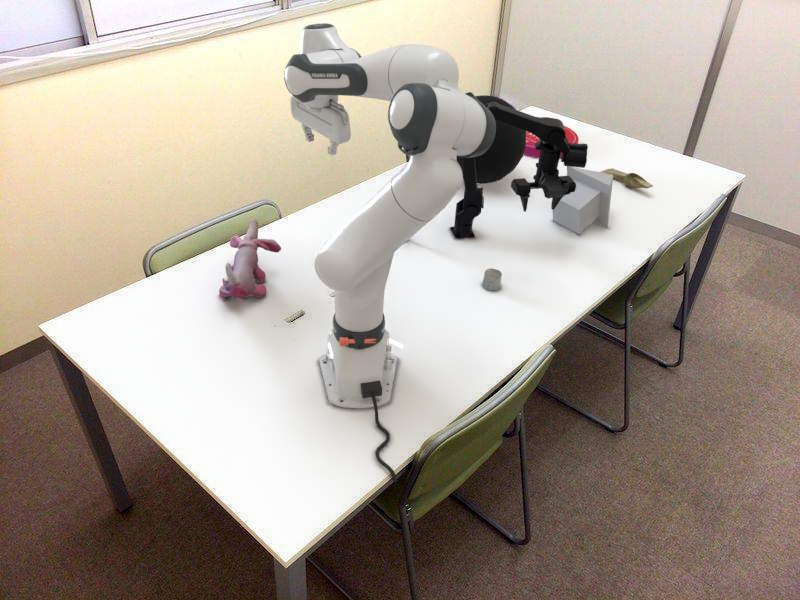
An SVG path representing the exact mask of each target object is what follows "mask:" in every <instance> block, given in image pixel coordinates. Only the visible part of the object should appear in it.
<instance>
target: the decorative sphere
mask: <svg viewBox="0 0 800 600" xmlns="http://www.w3.org/2000/svg"><path fill="white" fill-rule="evenodd" d="M475 97H476V98H477V99H478V100H479V101H480V102H481V103H482V104H483V105H486V104H488V103H490V102H497V103H499V104H501V105H503V106H506V107H509V108H512V109H515V110H517V109H516V108H515V107H514V106H513V105H512V104H511V103H509V102H507V101H506V100H505V99H503V98H501V97H498V96H494V95H486V94H485V95H482V94H481V95H475ZM495 122H496V133H495V138H494V140H493V143H492V145H491V146H490V148H489V149H488V150H487V151H486V152H485V153H484V154H482V155H480V156H477V157H475V166H476V179H477V185H486V184H491V183H496V182H499V181H500V180H503V179H504V178H505V177H507V176H509V174H511V173H512V172H514V171H515V169H516V168H517V166H518V165H519V163H520V162H521V160H522V159H523V157H524V155H523V154H524V151H525V148H526V131H524V130H521V129H519V128H516V127H513V126H510V125H507V124H504V123H501V122H499V121H496V120H495ZM457 162H458V163H459V165H460V167H461V170H462V173H463V163H462V157H458V156H457ZM463 180H464V174H463Z"/></svg>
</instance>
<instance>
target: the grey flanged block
mask: <svg viewBox="0 0 800 600" xmlns="http://www.w3.org/2000/svg"><path fill="white" fill-rule="evenodd" d="M601 172H602V171H601ZM601 172H600V171H596V170H591V169H585V168H580V167H570V166H566V176H570V177H571V179H572V180H573V181H574V182H575V183H576V190H575V192H571V193H570V194H567V195H565V196H563V197H562V199H561V200H560V201H559V203H558V204H557V206H556V207H555V209H554V210H552V221H554V222H555V223H557V224H559V225H561V226H563V227H565V228H567V230H570V231H572V232H573V233H575V234H577V235H581V234H582V233H583V232H584V231H585V230H586V229H587V228H588V227H589V226H590V225H591V224H593V222H595V223H598V224H599V225H602V226H603V227H606V228H609V219H610V210H611V199H612V193H613V192H612V191H613V182H614V181H613V180H614V178H613V175H611V174H606V173H601Z"/></svg>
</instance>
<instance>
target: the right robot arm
mask: <svg viewBox="0 0 800 600" xmlns="http://www.w3.org/2000/svg"><path fill="white" fill-rule="evenodd" d="M485 106H486V107H487V108H488V109H489V110H490V111H491V113H492V114H493V116H494V118H495V120H496V121H499V122H501V123H504V124H507V125H510V126H513V127H516V128H519V129H521V130H524V131H527V132H530V133H532V134H534V135H535V136H537V137H538V138H539V139H540V141H538V142H536V143H535V149H536V150H541V151H540V156H539V158H538V161H537V162H535V167H536V172H535V174H534V175H533V177H532V179H533V180H534V181H530V182H528V180H527V179H526V178H524V177H523V178H513V179H512V180H511V183H510V188H511V189H512V190H513V192H514V193H515V195H516V196H519V198H520V202H521V206H522V211H523V212H524V213H526V212H527V209H528V204H529V203H528V202H529V198H531V195H530V193H531V190H538V189H542V191H543V194H544V198H546V199H551V211H553V210H554V209H555V207H556V206H557V204H558V203H559V201H560V200H561V199H562V197H563V196H565V195H567V194H570V193H571V192H575V190H576V183H575V182H574V181H573V180H572V179H571V177H570V176H567V175H560V176H559V174H560V170H559V169H558V166H559V162H561V163H563V166H564V167H567V166H570V167H576V168H581V169H585V168H586V166H587V161H588V158H587V157H588V150H589V149H588V148H589V146H588V144H587V143H578V144H576V143H568V138H567V137H566V135H565V128H564V126H565V125H564V123H563V121H562V120H561V119H559V118H555V117H550V116H549V117H548V116H544V117H541V116H535V115H531V114H529V113H526V112H523V111H520V110H517V109H516V108H515V109H516V110H515V109H512V108H509V107H506V106H503V105H501V104H499V103H497V102H490V103H488V104H486V105H485ZM561 152H562V155H561V158H560V153H561ZM462 163H463V174H464V179H463V182H464V183H463V185H464V193H463V198H462V199H460V200H459V201H457V202H456V203H455V204H456V205H455V213H454V224H453V226H450V227H449V229H450V231H451V233H452V236H453V237H454V239H456V240H458V239H471V238H472V239H473V238H475V237H476V235H475V233H474V232H473V224H474V220H475V218H477V217H478V216H480V215H481V213H482V209H484V207H485V196H484V187H479V184H477V179H476V166H475V157H472V158H462Z"/></svg>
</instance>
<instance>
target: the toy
mask: <svg viewBox="0 0 800 600" xmlns="http://www.w3.org/2000/svg"><path fill="white" fill-rule="evenodd" d="M229 241H230V242H229V247H231V248H233V249H237V251H236V252H235V255H234V256H233V257H234V258H233V265H231V264H230V263H229V262H227V263H226V264H225V266H224V267H225V274H226V276H227V280H226V279H225V278H224V277H222V285H221V286H220V287H219V290H218V291H219V293H218V295H219V297H221V298H223V299H225V300H227V299H228V298H231V297H232V298H235V299H240V300H243V301H244V300H246V299H248V298H249V297H253V298H256V297H257V298H262V297H264V296H265V295H266V293H267V287H266V285H265V284H263V283H264V281H265V280H266V273H265V271H264V270H263V269H261V267H260V266H259V256H258V250H259V249H258V248H261V249H263V250H265V251H268V252H271V253H280V252H281V251H282V247H281V245H280V244H279V243H278V242H277V240H275V239H272V238H259V221H258V220H257V219H256V218H252V219H251V220H250V221H249V224H248V228H247V230H246V233H245V234H244V237H243V239H242V238H241V237H240V236H239V235H233V236H232V237H230V240H229ZM255 281H256V282H258V283H259V284H257V285H256V282H255Z"/></svg>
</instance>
